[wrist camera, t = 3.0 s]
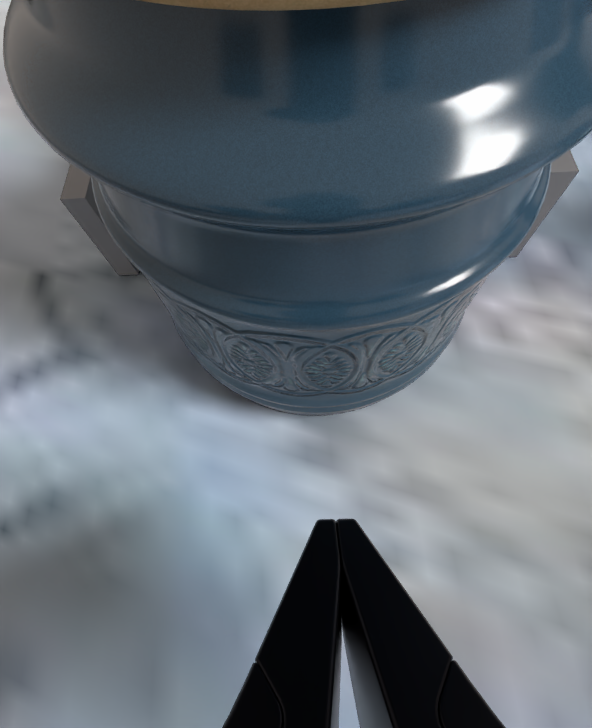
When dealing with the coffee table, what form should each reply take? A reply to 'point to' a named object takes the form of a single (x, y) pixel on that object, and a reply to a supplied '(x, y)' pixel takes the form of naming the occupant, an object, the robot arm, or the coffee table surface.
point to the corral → (87, 215)
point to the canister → (309, 166)
